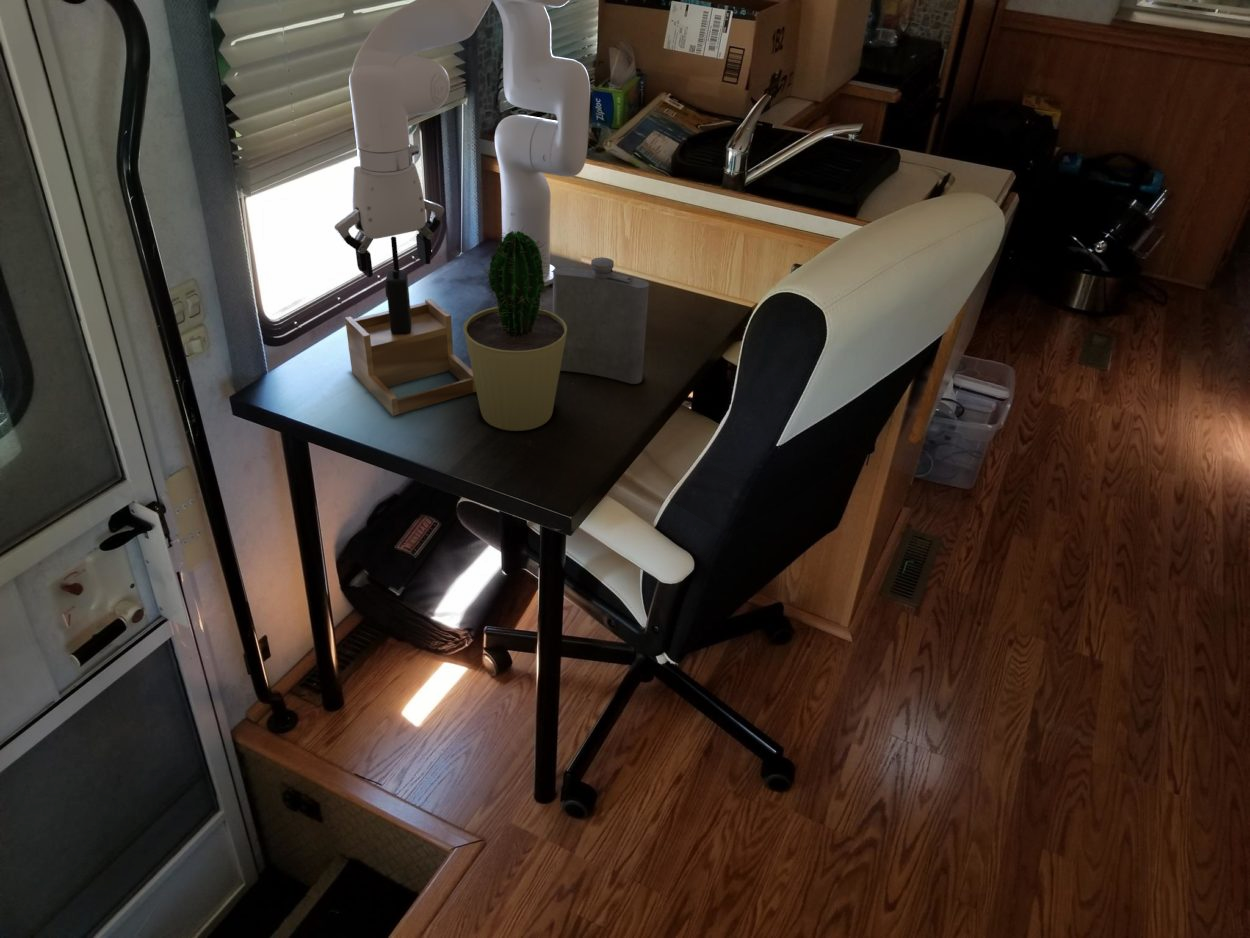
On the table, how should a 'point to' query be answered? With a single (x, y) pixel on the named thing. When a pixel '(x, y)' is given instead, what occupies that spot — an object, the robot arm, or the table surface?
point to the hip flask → (602, 320)
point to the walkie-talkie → (398, 296)
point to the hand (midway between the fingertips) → (396, 267)
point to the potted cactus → (516, 340)
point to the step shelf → (407, 357)
